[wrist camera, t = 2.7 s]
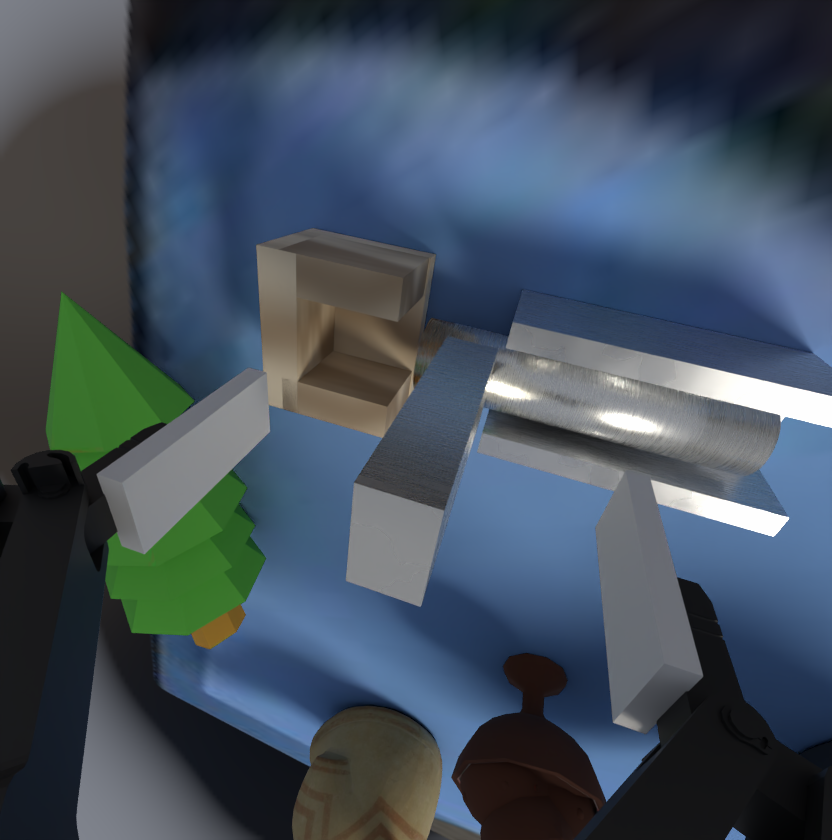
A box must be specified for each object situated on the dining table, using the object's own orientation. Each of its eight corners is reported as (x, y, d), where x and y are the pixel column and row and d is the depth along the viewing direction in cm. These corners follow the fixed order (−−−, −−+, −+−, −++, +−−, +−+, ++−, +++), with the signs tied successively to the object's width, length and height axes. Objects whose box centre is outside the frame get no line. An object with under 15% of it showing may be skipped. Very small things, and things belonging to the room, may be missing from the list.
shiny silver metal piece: (717, 448, 23) (886, 769, 11) (427, 372, 26) (307, 567, 14) (760, 382, 21) (1029, 691, 9) (439, 306, 24) (307, 468, 11)
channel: (735, 466, 25) (773, 536, 20) (491, 402, 27) (477, 452, 22) (813, 353, 21) (883, 408, 16) (522, 289, 23) (512, 322, 19)
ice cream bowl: (450, 647, 41) (401, 860, 29) (558, 622, 35) (554, 875, 23) (515, 714, 43) (496, 936, 31) (626, 700, 38) (656, 966, 25)
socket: (413, 392, 28) (385, 438, 24) (311, 365, 29) (265, 404, 25) (436, 254, 24) (405, 278, 19) (312, 227, 25) (256, 244, 20)
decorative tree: (121, 653, 38) (-118, 312, 22) (224, 557, 46) (105, 262, 31) (214, 715, 33) (-4, 341, 18) (310, 596, 42) (221, 273, 26)
